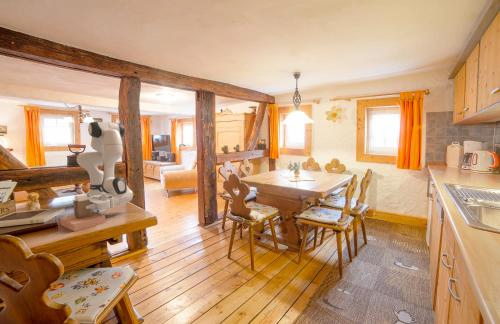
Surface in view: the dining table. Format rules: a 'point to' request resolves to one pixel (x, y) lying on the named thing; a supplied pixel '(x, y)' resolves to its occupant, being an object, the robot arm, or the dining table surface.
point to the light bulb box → (95, 208)
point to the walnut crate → (81, 209)
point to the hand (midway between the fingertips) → (81, 206)
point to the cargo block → (80, 197)
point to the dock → (82, 221)
